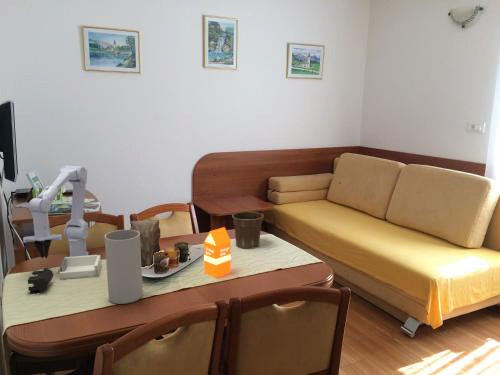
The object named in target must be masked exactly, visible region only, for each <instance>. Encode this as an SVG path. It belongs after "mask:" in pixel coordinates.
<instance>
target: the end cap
mask: <svg viewBox="0 0 500 375" xmlns="http://www.w3.org/2000/svg"><path fill="white" fill-rule="evenodd" d="M53 278H54V272H53V271H52V269H50V268H48V267H44V268H43V270H33V271H32V272H31V276H29V277H28V278H27V284H28V285H32V286H28V287H27V288H28V294H29V295H35V294H36V295H38V293H39V294H43V293H44V292H46V290H47V289H48V288H49V285H50V283H51V281H52V279H53Z"/></svg>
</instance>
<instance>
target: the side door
mask: <svg viewBox="0 0 500 375" xmlns="http://www.w3.org/2000/svg"><path fill="white" fill-rule="evenodd" d="M66 268H67V262H66V259H65V258H64V259H63V260H62V262H61V264H60V267H59V268H58V269H57V273H58V274H60V272H65V270H66Z"/></svg>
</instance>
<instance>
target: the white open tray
mask: <svg viewBox="0 0 500 375" xmlns="http://www.w3.org/2000/svg"><path fill="white" fill-rule="evenodd" d="M101 257H102V256H101V254H92V255H90V254H88V256H75V257H70V256H64V259H66V262H67V268H66V270H65V272H60V273H59V280H60V281H61V280H63V281H65V280H74V279H84V278H85V279H86V278H98V277H99V275H100V271H101V267H102V258H101Z"/></svg>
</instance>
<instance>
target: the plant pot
mask: <svg viewBox="0 0 500 375" xmlns="http://www.w3.org/2000/svg"><path fill="white" fill-rule="evenodd" d="M231 217H232V219H233V225H234V236H235V245H236V247H238V248H241V249H245V250H246V249H247V250H248V249H252V248H257V247H259V246H260V239H261V228H262V223H263V218H264V214H262V213H260V212H258V211H257V212H256V211H239V212H236V213H233V214H232V215H231Z"/></svg>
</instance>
